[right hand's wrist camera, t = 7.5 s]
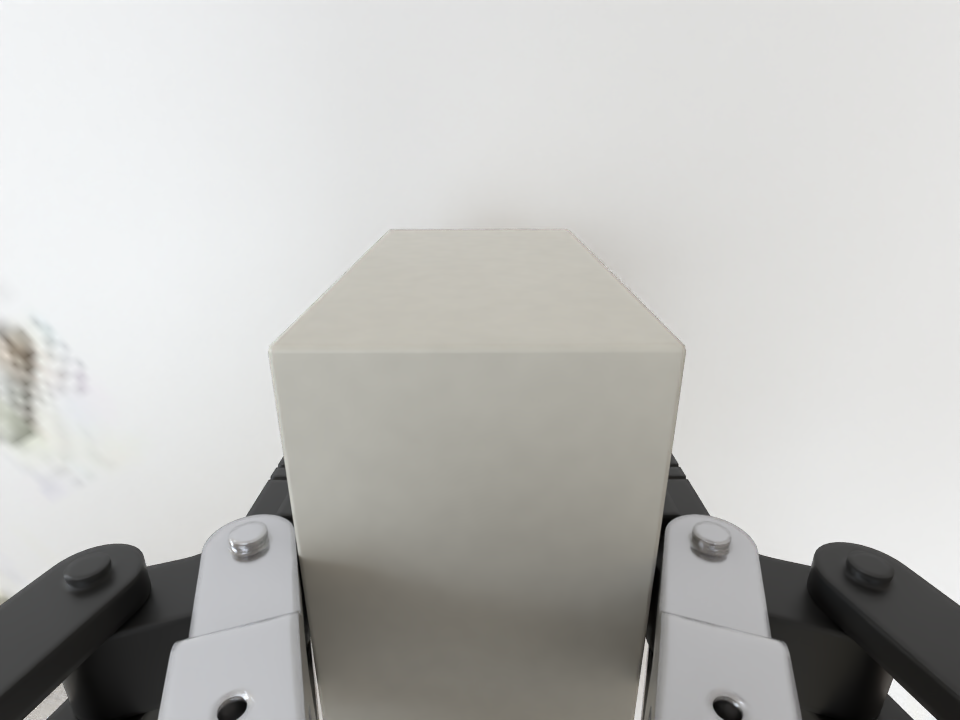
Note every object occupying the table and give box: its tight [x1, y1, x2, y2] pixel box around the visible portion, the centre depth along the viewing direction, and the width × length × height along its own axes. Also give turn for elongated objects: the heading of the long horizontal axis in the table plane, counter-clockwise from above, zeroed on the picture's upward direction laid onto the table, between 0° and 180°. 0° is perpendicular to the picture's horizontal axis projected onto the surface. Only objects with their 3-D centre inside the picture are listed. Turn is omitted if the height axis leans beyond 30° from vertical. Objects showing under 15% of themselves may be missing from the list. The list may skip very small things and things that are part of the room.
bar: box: [268, 229, 686, 720], centre depth 15 cm, size 23×5×9 cm, turn 0°
